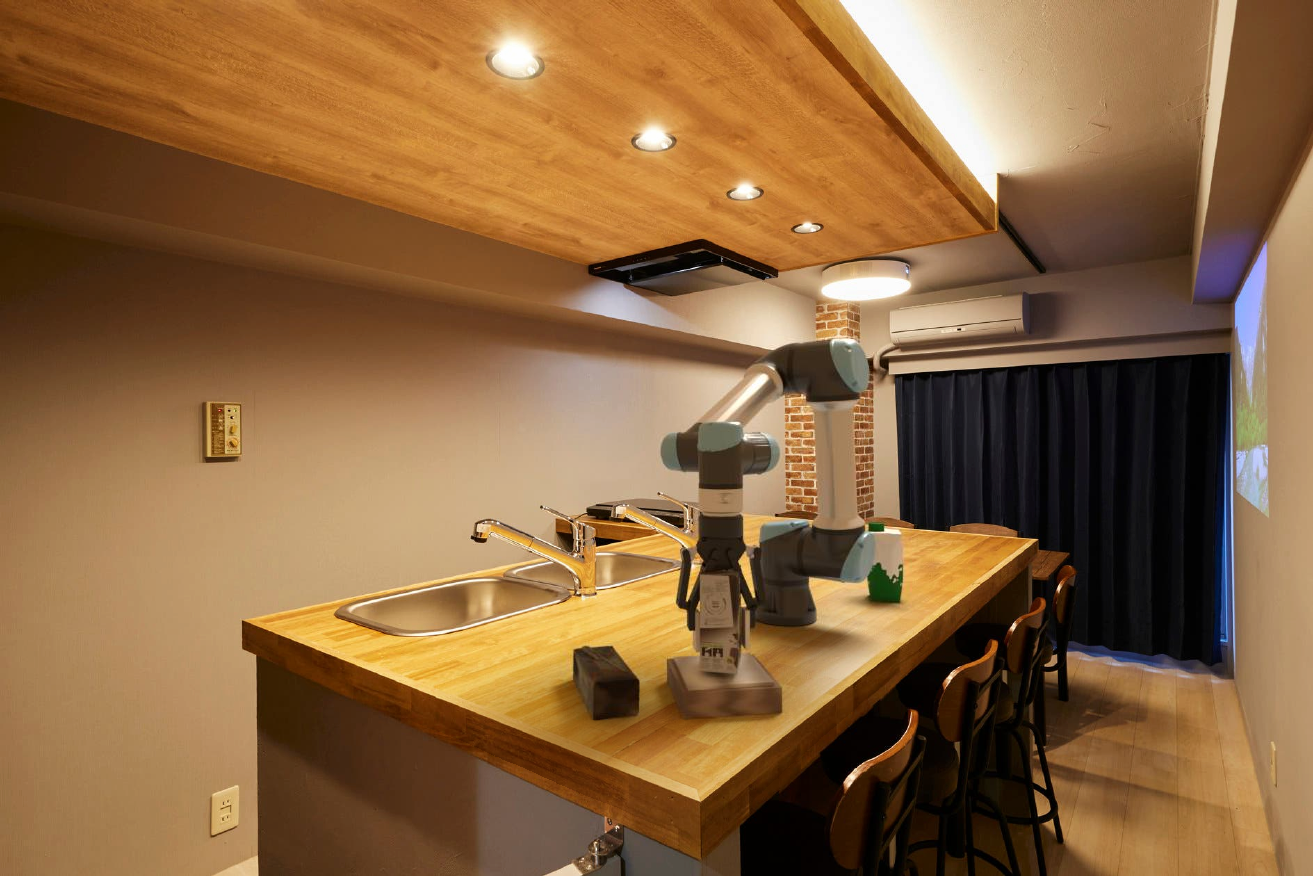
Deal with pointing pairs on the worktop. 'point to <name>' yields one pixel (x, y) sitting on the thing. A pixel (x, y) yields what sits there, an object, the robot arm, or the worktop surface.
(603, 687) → the beverage carton
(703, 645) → the coffee box
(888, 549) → the milk carton
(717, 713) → the shelf riser
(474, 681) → the worktop surface
